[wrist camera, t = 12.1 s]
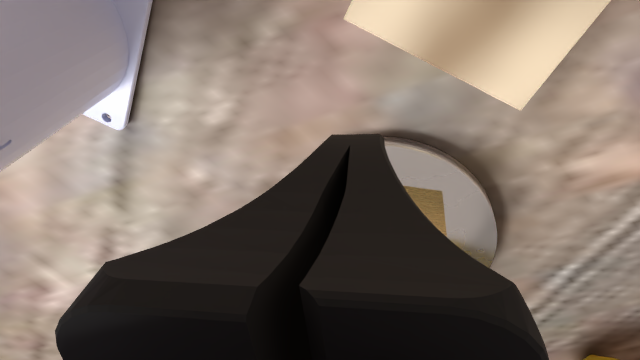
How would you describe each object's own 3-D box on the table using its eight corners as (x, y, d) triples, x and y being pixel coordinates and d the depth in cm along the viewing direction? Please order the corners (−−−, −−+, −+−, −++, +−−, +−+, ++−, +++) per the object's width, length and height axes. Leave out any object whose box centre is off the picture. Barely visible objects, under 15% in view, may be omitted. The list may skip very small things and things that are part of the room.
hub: (251, 253, 28) (229, 302, 25) (330, 95, 21) (316, 135, 18) (418, 328, 29) (419, 384, 26) (544, 202, 22) (567, 256, 19)
